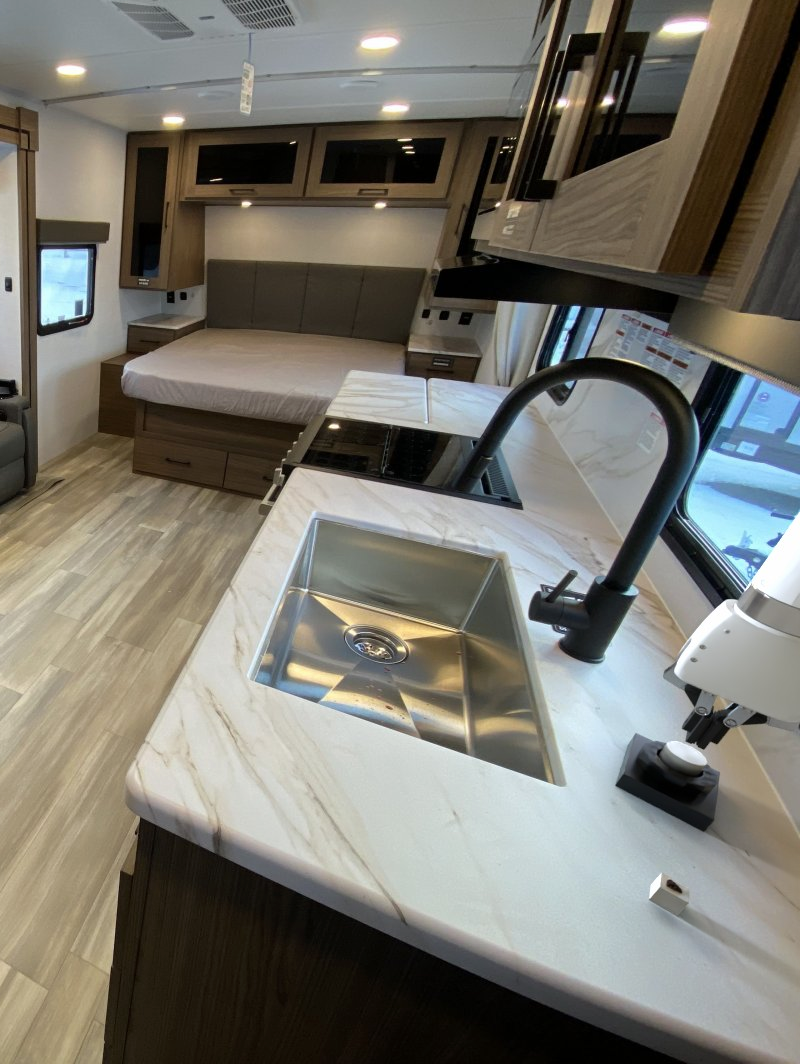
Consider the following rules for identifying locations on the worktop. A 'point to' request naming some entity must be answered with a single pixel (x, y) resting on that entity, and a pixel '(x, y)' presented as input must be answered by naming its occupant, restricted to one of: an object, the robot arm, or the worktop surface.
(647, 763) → the block
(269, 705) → the worktop surface
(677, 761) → the knob
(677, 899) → the cube with dark pebbles
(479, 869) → the worktop surface
